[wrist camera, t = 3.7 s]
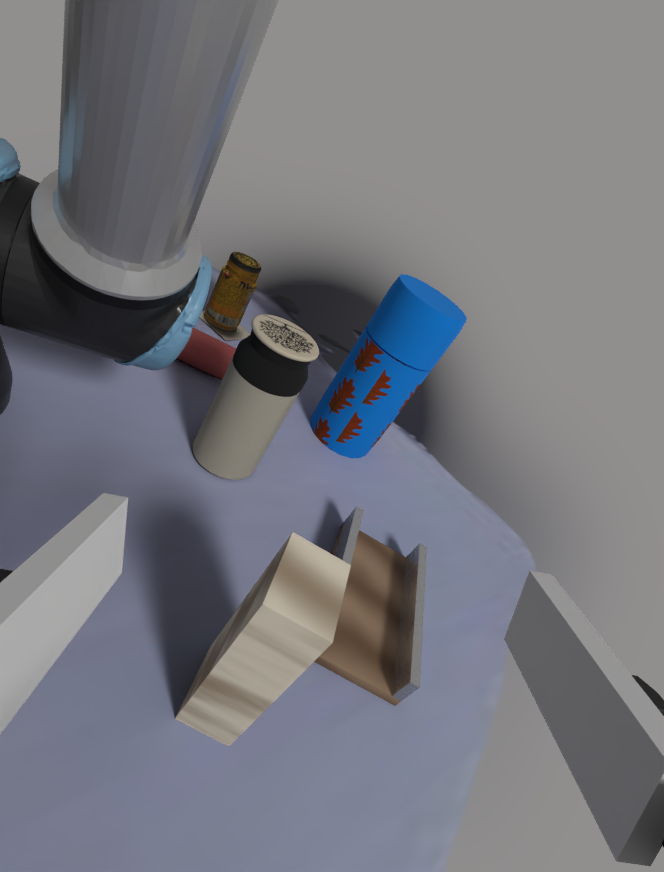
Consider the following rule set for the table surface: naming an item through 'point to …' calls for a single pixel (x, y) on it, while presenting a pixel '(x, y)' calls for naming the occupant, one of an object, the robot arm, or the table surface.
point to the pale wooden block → (267, 640)
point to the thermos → (386, 366)
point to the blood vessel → (207, 354)
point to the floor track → (378, 615)
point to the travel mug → (254, 397)
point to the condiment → (232, 296)
